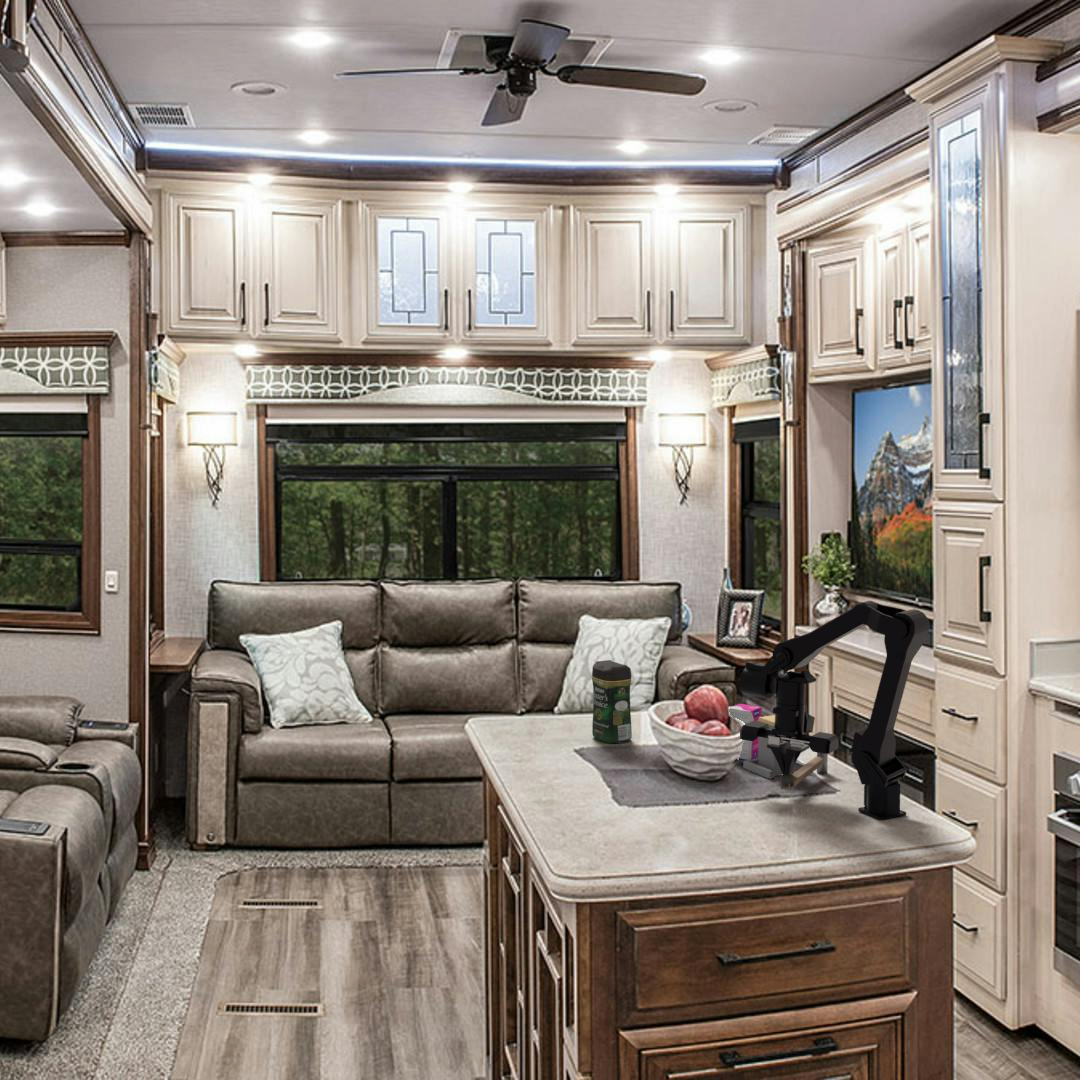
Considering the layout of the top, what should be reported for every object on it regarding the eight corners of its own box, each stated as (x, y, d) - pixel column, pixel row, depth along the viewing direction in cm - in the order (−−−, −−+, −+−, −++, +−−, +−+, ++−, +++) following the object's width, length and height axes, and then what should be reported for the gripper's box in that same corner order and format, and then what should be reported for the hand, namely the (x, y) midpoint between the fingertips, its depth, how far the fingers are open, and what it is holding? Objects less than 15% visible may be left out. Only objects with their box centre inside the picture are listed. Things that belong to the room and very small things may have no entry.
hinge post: (829, 773, 261) (829, 747, 260) (821, 774, 260) (821, 749, 259) (823, 770, 263) (823, 745, 262) (814, 772, 262) (814, 746, 261)
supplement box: (749, 762, 270) (750, 711, 269) (725, 758, 274) (726, 707, 273) (762, 757, 275) (762, 706, 274) (738, 753, 278) (738, 702, 277)
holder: (809, 772, 261) (809, 765, 261) (769, 779, 257) (769, 771, 257) (781, 762, 270) (781, 754, 270) (742, 768, 266) (743, 760, 266)
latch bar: (826, 763, 259) (826, 752, 259) (791, 790, 240) (791, 778, 240) (813, 761, 260) (813, 750, 260) (778, 788, 241) (778, 776, 241)
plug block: (795, 772, 262) (795, 719, 261) (773, 775, 260) (774, 722, 259) (779, 766, 267) (779, 714, 266) (758, 769, 265) (758, 717, 264)
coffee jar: (586, 737, 294) (586, 660, 292) (615, 732, 298) (615, 656, 296) (608, 746, 285) (607, 666, 284) (637, 741, 289) (636, 663, 288)
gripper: (849, 701, 247) (846, 778, 248) (762, 689, 257) (759, 762, 258) (830, 712, 237) (826, 791, 239) (740, 698, 247) (737, 774, 249)
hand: (786, 779), depth 246 cm, fingers closed
